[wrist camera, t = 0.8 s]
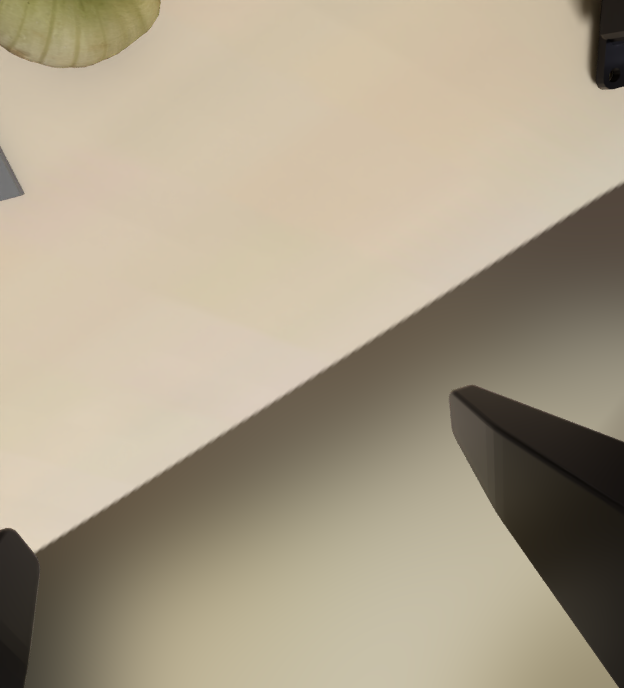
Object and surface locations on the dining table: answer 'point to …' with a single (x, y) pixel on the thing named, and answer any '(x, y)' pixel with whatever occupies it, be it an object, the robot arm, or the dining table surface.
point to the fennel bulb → (73, 29)
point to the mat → (8, 180)
